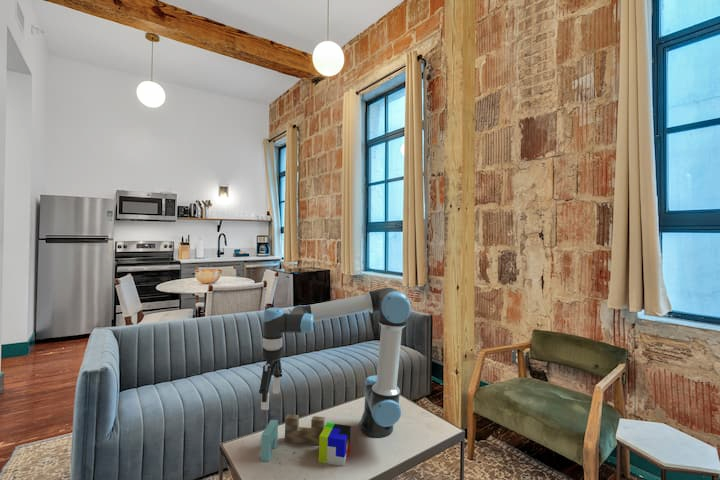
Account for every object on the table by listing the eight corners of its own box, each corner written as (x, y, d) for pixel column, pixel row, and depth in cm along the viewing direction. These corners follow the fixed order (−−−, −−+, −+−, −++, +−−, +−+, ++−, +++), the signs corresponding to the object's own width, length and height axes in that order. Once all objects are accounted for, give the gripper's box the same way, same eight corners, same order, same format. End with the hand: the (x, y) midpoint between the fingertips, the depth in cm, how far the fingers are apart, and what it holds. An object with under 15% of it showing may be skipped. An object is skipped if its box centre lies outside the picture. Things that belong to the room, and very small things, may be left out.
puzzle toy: (343, 466, 132) (344, 440, 131) (318, 461, 134) (319, 436, 133) (349, 450, 141) (350, 425, 141) (326, 446, 143) (327, 422, 143)
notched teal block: (270, 443, 144) (270, 419, 144) (277, 444, 144) (278, 420, 143) (260, 460, 133) (261, 434, 133) (268, 461, 133) (269, 435, 132)
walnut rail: (323, 440, 147) (324, 417, 147) (322, 444, 144) (323, 420, 144) (286, 437, 148) (287, 414, 148) (284, 441, 145) (285, 418, 145)
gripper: (273, 337, 150) (271, 386, 151) (251, 357, 126) (249, 416, 126) (290, 338, 150) (288, 387, 150) (271, 359, 125) (269, 417, 125)
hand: (270, 400), depth 138 cm, fingers open, 13 cm apart
